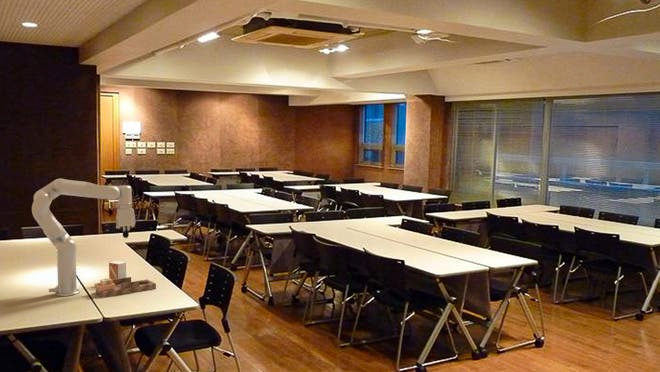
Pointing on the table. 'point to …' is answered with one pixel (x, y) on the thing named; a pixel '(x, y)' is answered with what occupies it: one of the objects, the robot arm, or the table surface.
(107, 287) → the sled
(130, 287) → the track
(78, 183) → the robot arm
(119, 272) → the small box
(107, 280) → the maple cube
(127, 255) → the table surface
